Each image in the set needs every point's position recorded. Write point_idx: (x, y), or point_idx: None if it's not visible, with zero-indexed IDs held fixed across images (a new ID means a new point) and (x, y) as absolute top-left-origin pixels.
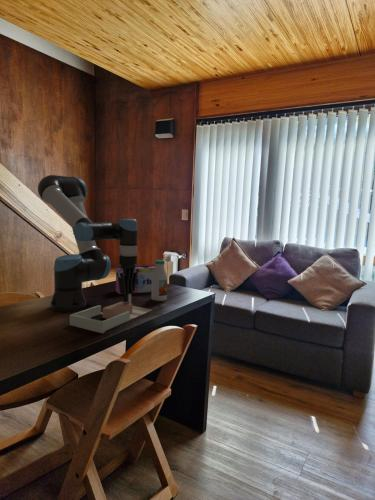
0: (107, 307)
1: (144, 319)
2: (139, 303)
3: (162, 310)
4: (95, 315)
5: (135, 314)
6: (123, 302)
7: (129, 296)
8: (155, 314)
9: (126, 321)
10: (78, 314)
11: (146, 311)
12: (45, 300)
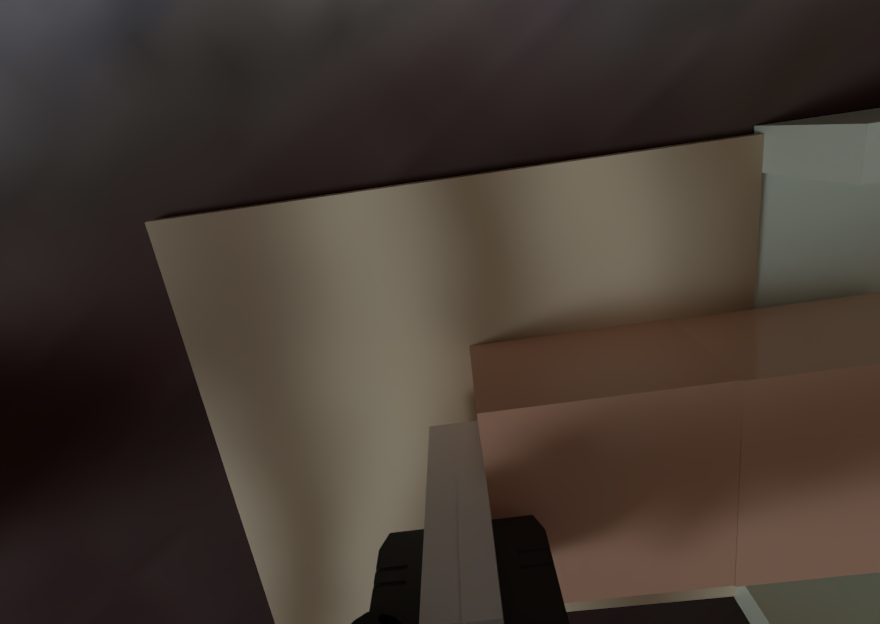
0: None
1: (548, 14)
2: (88, 565)
3: (8, 124)
4: None
5: (498, 258)
6: None
7: (483, 577)
8: (238, 62)
9: (852, 113)
10: None
11: (278, 238)
12: None
